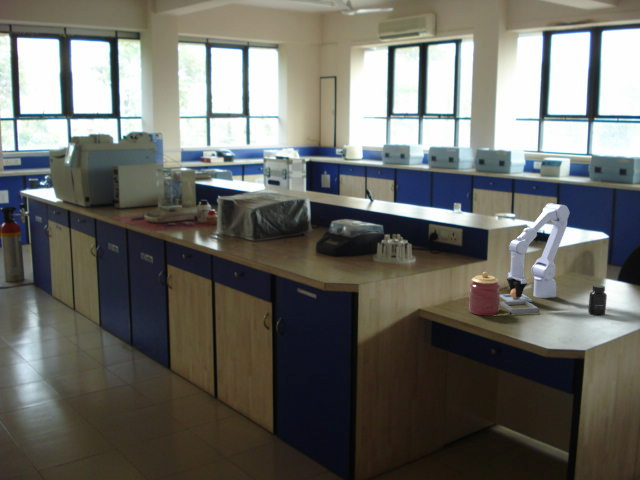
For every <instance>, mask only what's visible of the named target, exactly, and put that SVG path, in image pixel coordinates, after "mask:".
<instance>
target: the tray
mask: <svg viewBox="0 0 640 480" xmlns="http://www.w3.org/2000/svg"><path fill="white" fill-rule="evenodd" d="M515 305H519V306H520V305H524V306H525V305H526V306H527V307H517V308H516V307H514V308H513V307H512V306H515ZM499 306H501V307H502V308H504V309H506V310H507V311H508V313H509V314H510V315H529V314H539V310H540V309H539V307H537V306H536V305H534V304H533V303H532V302H531V303H530V302H527V301H499Z"/></svg>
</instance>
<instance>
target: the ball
mask: <svg viewBox="0 0 640 480" xmlns="http://www.w3.org/2000/svg"><path fill="white" fill-rule="evenodd" d="M509 294H510V295H511V297H512V298H514V299H519V298H520V297H516V290H515V288H514V289H512V290H511V292H510V293H509Z"/></svg>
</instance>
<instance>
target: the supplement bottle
mask: <svg viewBox="0 0 640 480" xmlns="http://www.w3.org/2000/svg"><path fill="white" fill-rule="evenodd" d="M605 291H606V287H605V286H604V285H601V284H600V285H599V284H594V285H592V291H591V292H589V295H588V296H589V297H588V298H589V299H588V306H587V308H588V309H587V312H588V314H590V315H593V316H605V314H606V309H607V298H608V296H607V293H606V292H605Z"/></svg>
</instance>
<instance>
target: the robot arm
mask: <svg viewBox="0 0 640 480" xmlns="http://www.w3.org/2000/svg"><path fill="white" fill-rule="evenodd" d="M570 213H571V211H570V210H569V208H568V206H567V205H565V204H557V203H553V202H549V203H547V204H545V206H544V207H543V208H542V212H541V213H540V215H539V216H538V217H537V219H536V220H535V221H534V222H533V224H532V225H531V226H530V227H526V228H524V229H523V230H522V232H521V233H520V235H518V236H517V237H516V238H515V239H512V241H511V242H510V243H509V245H508V249H509V251H510V272H509V271H508V272H507V278H506V281H507V283H508V287H509V291H510V292H511V290H512V289H514V288H515V290H516V297H521V296H522V294H524V293H523V292H524V290H525V288H526V287H527V284H528V283H527V279H526V278H525V275H524V274H525V273H524V271H525V254H526V253H527V251H528V249H529V246H530V244H531V243H532V242H533V240H534V239H536V237H537V236H538V234H537V233H538V231H540V229H541V228H542V227H544V226H545V225H546V224H547V223H548V222H549V221H551V223H552V225H553V226H552V228H551V231H550V234H549V236H548V239H547V241H546V245H545V247H544V249H543V251H542V255H541V256H540V257H539V258H537V259H536V260H535V262H534V264H533V265H532V267H531V269H530V272H531V274H532V276H533V279H534V280H533V294H532V295H533V297H535V298H539V299H548V298H556V297H557V282H556V280H555V279H554V276H555V273H556V268H557V266H556V264H555V262H554V260H555V257H556V255H557V252H558V250H559V248H560V245H561V242H562V239H563V237H564V235H565V233H566V232H565V231H566V229H567V225H568V219H569V217H570Z"/></svg>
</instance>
